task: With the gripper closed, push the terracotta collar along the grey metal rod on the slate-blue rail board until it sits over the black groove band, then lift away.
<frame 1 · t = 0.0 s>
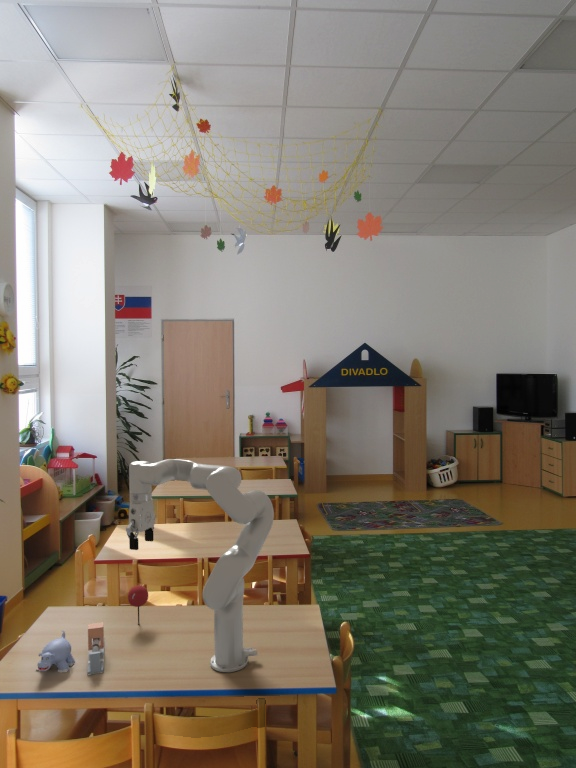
hand: (141, 545, 206), 37 cm above the table, tool pointing down, fingers open, 9 cm apart
rail: (96, 656, 203), on the table
lollipop: (138, 624, 227), on the table
collar: (95, 636, 204), point 7 cm above the table, slide at -1.0 cm
hippopotamus toy: (54, 669, 196), on the table
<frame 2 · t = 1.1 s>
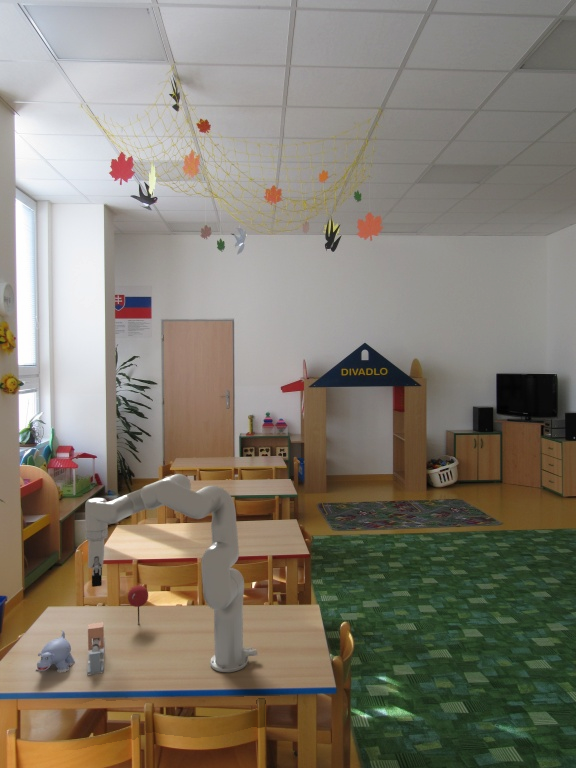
hand: (97, 580, 210), 24 cm above the table, tool pointing down, fingers open, 9 cm apart
nothing on the table moved.
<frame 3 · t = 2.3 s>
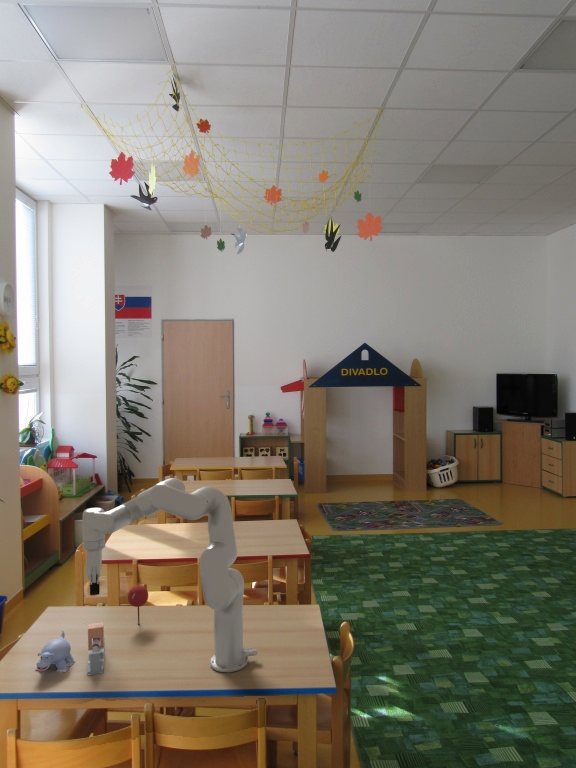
hand: (94, 594, 210), 19 cm above the table, tool pointing down, fingers closed
nothing on the table moved.
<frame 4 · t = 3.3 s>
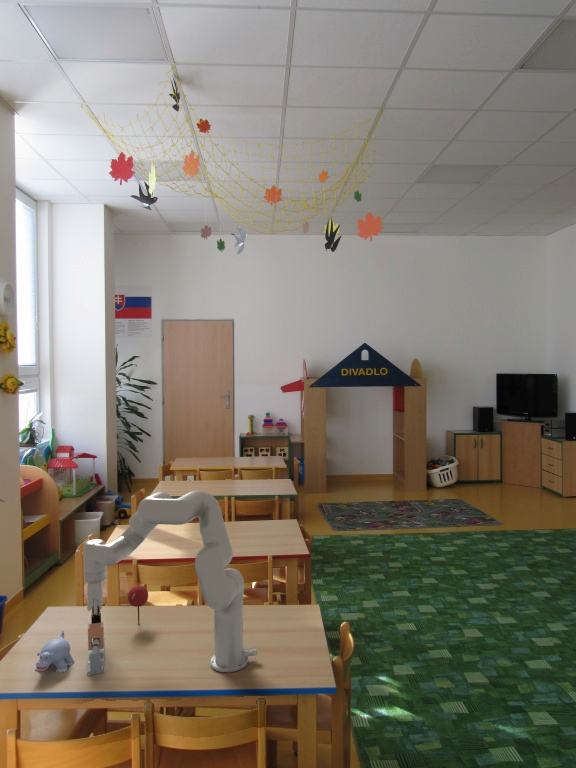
hand: (96, 625, 210), 7 cm above the table, tool pointing down, fingers closed
nothing on the table moved.
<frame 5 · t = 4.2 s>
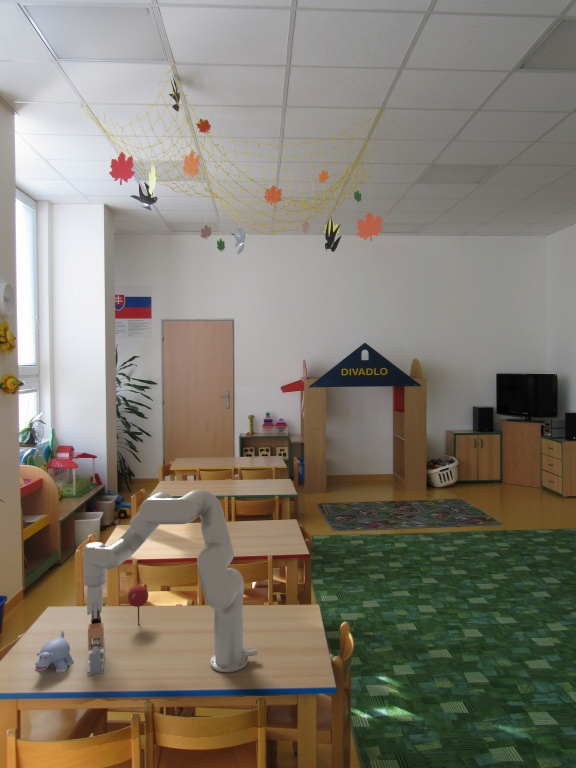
hand: (96, 629, 208), 7 cm above the table, tool pointing down, fingers closed
collar: (95, 636, 204), point 7 cm above the table, slide at -0.8 cm, touching gripper
everything else where it was.
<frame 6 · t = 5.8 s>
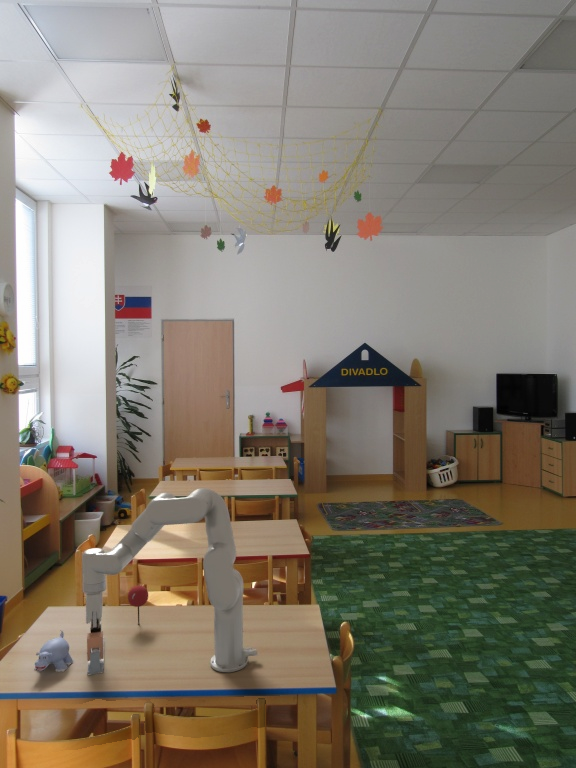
hand: (95, 638, 201), 7 cm above the table, tool pointing down, fingers closed
collar: (95, 646, 197), point 7 cm above the table, slide at 6.3 cm, touching gripper
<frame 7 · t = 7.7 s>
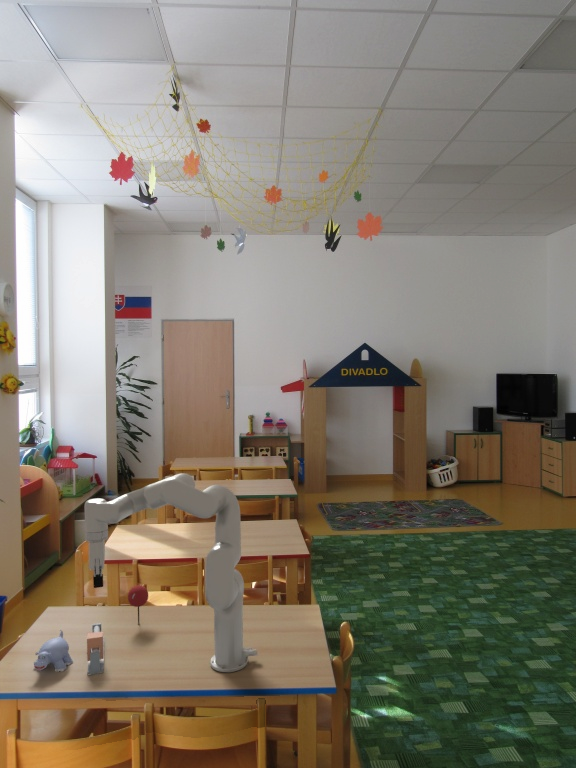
hand: (98, 586, 206), 23 cm above the table, tool pointing down, fingers closed
collar: (95, 646, 197), point 7 cm above the table, slide at 6.3 cm
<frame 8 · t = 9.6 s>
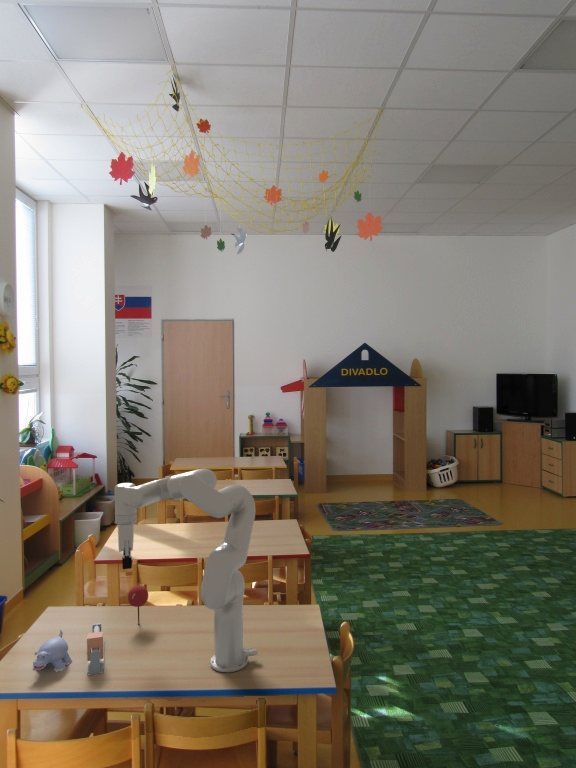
hand: (127, 567, 213), 27 cm above the table, tool pointing down, fingers closed
at the end: collar slide at 6.3 cm; collar moved 7.3 cm from its start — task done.
